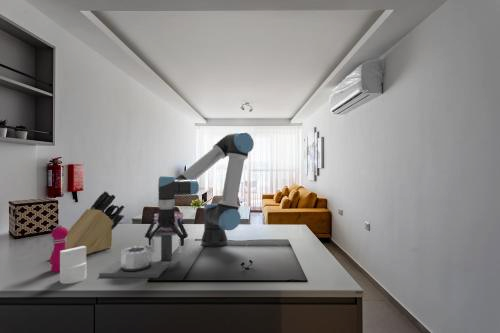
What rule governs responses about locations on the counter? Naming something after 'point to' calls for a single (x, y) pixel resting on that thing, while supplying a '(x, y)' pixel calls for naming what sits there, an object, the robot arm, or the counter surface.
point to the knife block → (95, 226)
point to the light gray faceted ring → (136, 258)
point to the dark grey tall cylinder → (166, 247)
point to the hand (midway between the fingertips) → (166, 252)
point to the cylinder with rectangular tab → (73, 265)
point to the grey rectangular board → (151, 272)
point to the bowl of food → (177, 216)
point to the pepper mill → (58, 246)
